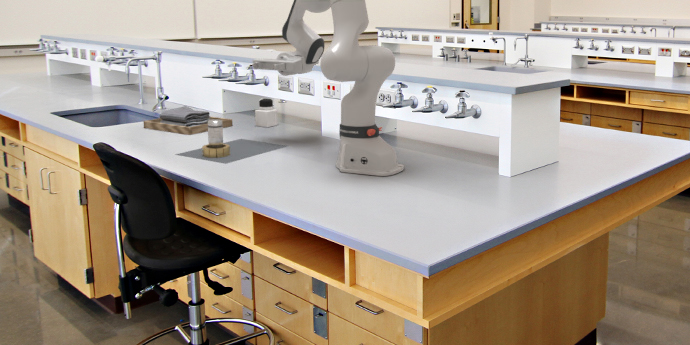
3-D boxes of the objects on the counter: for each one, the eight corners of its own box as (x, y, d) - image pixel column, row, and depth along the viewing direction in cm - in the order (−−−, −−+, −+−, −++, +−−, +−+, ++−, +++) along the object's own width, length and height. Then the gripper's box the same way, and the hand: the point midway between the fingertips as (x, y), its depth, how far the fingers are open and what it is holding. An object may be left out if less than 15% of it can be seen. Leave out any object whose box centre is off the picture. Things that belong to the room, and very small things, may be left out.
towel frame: (232, 125, 274) (232, 119, 274) (189, 134, 254) (189, 127, 253) (187, 119, 289) (187, 113, 289) (143, 127, 269) (143, 121, 268)
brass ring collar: (235, 153, 217) (234, 145, 217) (216, 158, 210) (216, 150, 209) (216, 150, 222) (215, 142, 222) (197, 155, 215) (196, 146, 214)
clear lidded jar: (226, 154, 217) (225, 120, 214) (216, 156, 213) (215, 122, 210) (215, 152, 219) (214, 118, 216) (205, 154, 215) (204, 121, 212)
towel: (158, 128, 270) (157, 110, 268) (186, 121, 286) (185, 105, 284) (186, 131, 264) (185, 112, 262) (212, 124, 280) (211, 107, 278)
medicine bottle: (277, 125, 277) (277, 98, 274) (267, 127, 271) (266, 100, 268) (265, 123, 281) (264, 97, 278) (255, 126, 275) (254, 99, 272)
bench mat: (289, 147, 231) (289, 145, 231) (225, 165, 203) (225, 163, 203) (241, 140, 244) (241, 138, 244) (175, 156, 216) (175, 154, 216)
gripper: (266, 54, 241) (242, 56, 229) (308, 56, 230) (285, 58, 219) (266, 70, 242) (242, 73, 231) (308, 73, 231) (285, 76, 220)
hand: (263, 66), depth 225 cm, fingers open, 8 cm apart
